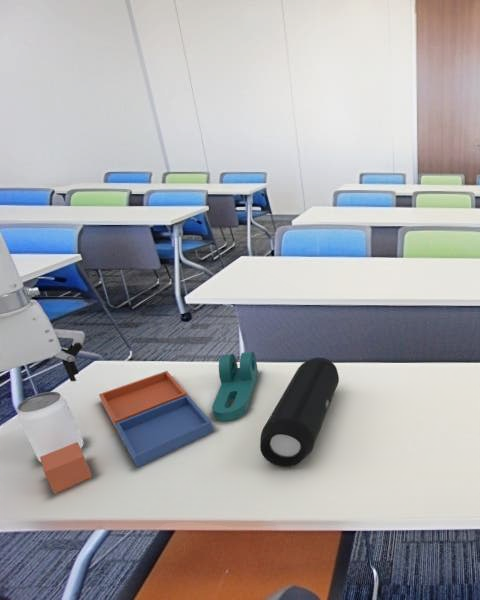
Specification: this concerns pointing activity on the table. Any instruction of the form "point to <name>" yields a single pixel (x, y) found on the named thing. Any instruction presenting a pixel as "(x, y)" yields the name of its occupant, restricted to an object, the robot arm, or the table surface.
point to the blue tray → (163, 429)
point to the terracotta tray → (141, 396)
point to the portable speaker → (299, 413)
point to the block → (65, 467)
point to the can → (48, 423)
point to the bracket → (235, 386)
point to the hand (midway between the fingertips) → (37, 390)
